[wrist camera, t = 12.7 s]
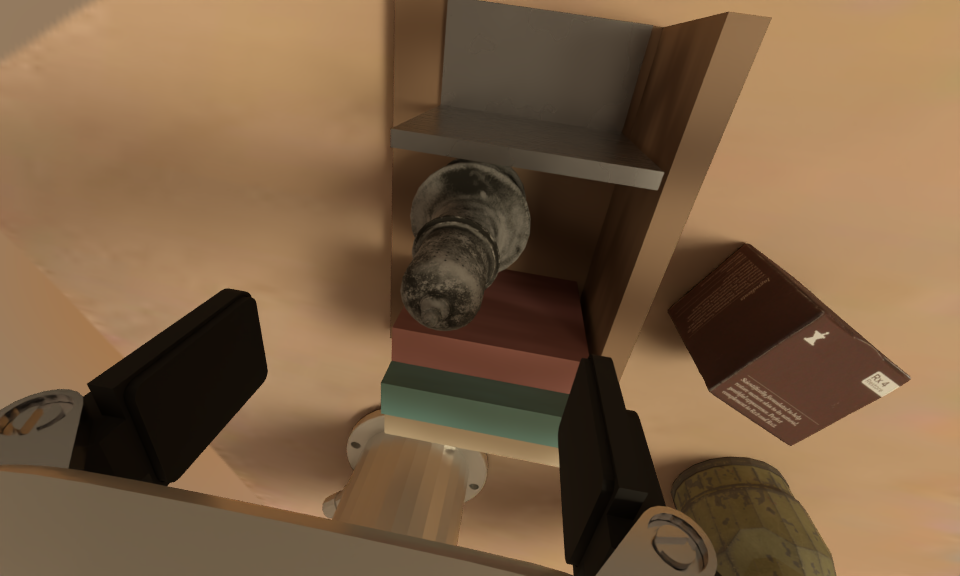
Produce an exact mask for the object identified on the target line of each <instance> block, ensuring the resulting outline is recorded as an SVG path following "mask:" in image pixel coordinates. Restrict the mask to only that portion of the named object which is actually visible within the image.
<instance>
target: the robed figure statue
mask: <svg viewBox="0 0 960 576" xmlns="http://www.w3.org/2000/svg"><path fill="white" fill-rule="evenodd" d="M671 494H672V498H673V501H674V504H675V508H676V510H678V511H680V512H682V513H684V514H685V515H687V516H688V517H690V518H691V519H692V520H693V521H695V522H696V523H697V524H698V525H699V526H700V527H701V528H702V529H703V531H704V532H705V533H706V535H707V536H708V538H709V539H710V541H711V543H712V545H713V547H714V549H715V552H716V557H717V569H716V571H718V572H719V573H720V574H721V575H722V576H836V572H835V567H834V563H833V559H832V555H831V553H830V551H829V549H828V547H827V546H826V544H825V542H824V541H823V539H822V537H821V536H820V534H819V532H818V530H817V529H816V527H815V525H814V524H813V522H812V520H811V518H810V517H809V515H808V513H807V512H806V510H805V509H804V508H803V506H802V505H801V504H800V502H799V501H797V500H796V499H795V498H794V496H793V494H792V493H791V491H790V489H789V485H788V484H787V482H786V480H785V479H784V477H783V476H782V475H781V473H780V472H779V471H778V470H777V469H775V468H774V467H772V466H770V465H769V464H767V463H765V462H762V461H758V460H754V459H750V458H739V457H726V458H719V459H711V460H708V461H705V462H702V463H699V464H696V465H694V466H692V467H690V468H689V469H687V470H686V471H684V472H683V473H681V474H680V475H679V477H678V478H677V479H676V480H675V482H674V483H673V487H672V491H671Z"/></svg>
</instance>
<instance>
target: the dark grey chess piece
mask: <svg viewBox="0 0 960 576" xmlns="http://www.w3.org/2000/svg"><path fill="white" fill-rule="evenodd" d="M410 218H411V227H412V232H413V235H414V237H415V239H414V241H413V247H412V258H413V260H412V261H411V263H410V264H409V266H408V268H407V269H406V271H405V273H404V275H403V277H402V283H401V290H400V292H401V299H402V302H403V304H404V306H405V308H406V310H407V311H408V312H409V314H410V315H411V316H412V317H413V318H414V319H415V320H416V321H417V322H419V323H420V324H422V325H424V326H425V327H427V328H430V329H434V330H438V331H451V330H457V329H459V328H462V327H464V326H466V325H467V324H468V323H470V322H471V321H472V320H473V319H474V317H475V316H476V314H477V313H478V311H479V310H480V307H481V304H482V300H483V295H484V291H485V290H486V289H487V288H488V287H489V286H490V285H491V284H492V283H493V281H494V280H495V278H496V277H497V274H498V272H501V271H503V270H505V269H506V268H508V267H509V266H510V265H511V264H512V263H514V262H515V261H516V260H517V259H518V257H519V256H520V255H521V253H522V252H523V250H524V249H525V247H526V244H527V241H528V238H529V235H530V221H531V217H530V213H529V209H528V204H527V201H526V194H525V190H524V186H523V183H522V181H521V180H520V178H519V176H518V174H517V173H516V172H515V171H514V170H513V169H512V167H510V166H503V165H497V164H491V163H485V162H479V161H473V160H466V159H460V158H456V159H455V160H453V161H452V162H450V163H448V164H447V166H444V167H442V168H440V169H439V170H437V171H436V172H434V173H432V174H431V175H429V177H428V178H427V179H426V180H425V181H424V182H423V183H422V184H421V185H420V187H419V188H418V190H417V193H416V195H415V197H414V199H413V201H412V208H411V214H410Z"/></svg>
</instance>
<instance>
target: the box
mask: <svg viewBox="0 0 960 576" xmlns="http://www.w3.org/2000/svg"><path fill="white" fill-rule="evenodd" d="M668 313H669V315H670V317H671V319H672V320H673V322H674V324H675V326H676V328H677V330H678V332H679V334H680V336H681V338H682V340H683V342H684V344H685V346H686V348H687V349H688V351H689V353H690V355H691V356H692V359H693V360H694V362H695V364H696V366H697V368H698V370H699V373H700V374H701V375H702V377H703V379H704V381H705V383H706V386H707V388H708V390H709V392H711V393H712V394H713V395H714V396H716V397H717V398H719V399H720V400H722V401H723V402H725V403H726V404H728V405H729V406H731V407H732V408H734V409H735V410H737V411H738V412H740V413H741V414H743V415H744V416H746V417H747V418H749V419H750V420H751V421H753V422H754V423H756V424H758V425H759V426H761V427H762V428H764V429H765V430H767V431H768V432H770V433H771V434H773V435H774V436H776V437H777V438H779V439H780V440H782V441H783V442H785V443H786V444H788V445H790V446H792V445H794V444H796V443H797V442H799V441H801V440H803V439H805V438H807V437H809V436H811V435H812V434H814V433H816V432H818V431H820V430H822V429H824V428H825V427H827V426H829V425H831V424H832V423H834V422H836V421H838V420H840V419H841V418H843V417H845V416H847V415H849V414H851V413H852V412H855V411H857V410H858V409H860V408H862V407H864V406H866V405H868V404H870V403H872V402H873V401H875V400H877V399H879V398H881V397H883V396H885V395H887V394H889V393H890V392H892V391H894V390H895V389H897V388H898V387H900V386H902V385H903V384H905V383H906V382H908V381H909V380H910V379H911V377H910V376H909V375H908V374H906V373H905V372H904V371H903V370H901V369H900V368H899V367H898V366H897V365H895V364H894V363H893V362H892V361H890V360H889V359H888V358H887V357H886V356H885V355H883V354H882V353H881V352H880V351H879V350H877V349H876V348H875V347H874V346H873V345H872V344H870V343H869V342H868V341H867V340H866V339H865V338H863V337H862V336H861V335H860V334H859V333H858V332H856V331H855V330H854V329H853V328H852V327H851V326H849V325H848V324H847V323H846V322H845V321H844V320H842V319H841V318H840V317H839V316H838V315H837V314H835V313H834V312H833V311H832V310H831V309H830V308H828V307H827V306H826V305H825V304H824V303H823V302H822V301H820V300H819V299H818V298H817V297H816V296H815V295H814V294H813V293H812V292H810V291H809V290H808V289H807V288H806V287H804V286H803V285H802V284H801V283H800V282H799V281H797V280H796V279H795V278H794V277H792V276H791V275H790V274H789V273H787V272H786V271H785V270H783V269H782V268H781V267H780V266H778V265H777V264H776V263H774V262H773V261H772V260H770V259H769V258H768V257H766V256H765V255H764V254H763V253H761V252H760V251H758V250H757V249H756V248H754V247H753V246H752V245H750V244H745V245H743V246H742V247H741V248H740V249H739V250H738V251H736V252H735V253H734V254H733V255H732V256H730V257H729V258H728V259H727V260H726V261H725V262H723V263H722V264H721V265H720V266H719V267H718V268H717V269H715V270H714V271H713V272H712V273H711V274H710V275H709V276H707V277H706V278H705V279H704V280H703V281H702V282H700V283H699V284H698V285H697V286H696V287H695V288H693V289H692V290H691V291H690V292H688V293H687V294H686V295H685V296H684V297H683V298H681V299H680V300H679V301H678V302H677V303H676V304H674V305H673V306H672V307H671V308H670V309H669V310H668Z"/></svg>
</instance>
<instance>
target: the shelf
mask: <svg viewBox="0 0 960 576" xmlns="http://www.w3.org/2000/svg"><path fill="white" fill-rule="evenodd" d="M447 5H448V0H395V22H394V98H393V127H395V126H397V125H399V124H401V123H403V122H405V121H407V120H410V119H412V118H414V117H416V116H418V115H420V114H422V113H424V112H426V111H428V110H431V109H433V108H435V107H437V106H439V105H441V91H442V77H443V63H444V48H445V34H446V19H447ZM771 19H772V18H771V17H764V16H756V15H749V14H742V13H735V12H725V13H721V14H717V15H713V16H709V17H705V18H701V19H696V20H692V21H688V22H684V23H680V24H676V25H672V26H667V27H656V26H653V28H652V32H651V35H650V39H649V42H648V45H647V49H646V52H645V56H644V59H643V62H642V66H641V69H640V73H639V76H638V79H637V83H636V86H635V90H634V93H633V96H632V100H631V103H630V107H629V110H628V113H627V117H626V120H625V124H624V127H623V130H622V134H623V135H625V136H626V137H627V138H628V139H629V140H630V141H631V142H632V143H633V144H634V145H635V146H637V147H638V148H639V149H640V150H641V151H642V152H643V153H644V154H645V155H646V156H647V157H648V158H650V159H651V160H652V161H653V162H654V163H655V164H656V165H657V166H658V167H659V168H660V169H661V170H663V171H664V175H663V177H662V180H661V183H660V186H659V188H658V190H652V189H646V188H639V187H633V186H627V185H621V184H615V183H608V182H602V181H596V180H590V179H584V178H578V177H571V176H565V175H559V174H553V173H547V172H541V171H534V170H528V169H522V168H516V167H512V169H513V170H514V171H515V172H516V173H517V174H518V176H519V178H520V180H521V181H522V183H523V186H524V190H525V194H526V201H527V204H528V209H529V213H530V217H531V221H530V235H529V238H528V241H527V244H526V247H525V249H524V250H523V252H522V253H521V255H520V256H519V257H518V259H517V260H516V261H515V262H514V263H512V264H511V265H510V266H509V267H508V268H506V269H505V270H503V271H501V272H498V274H497V277H496V278H495V280H494V281H493V283H492V284H491V285H490V286H489V287H488V288H487V289H486V290H485V291H484V295H483V300H482V304H481V307H480V310H479V311H478V313H477V314H476V316H475V317H474V319H473V320H472V321H471V322H470V323H468V324H467V325H466V326H464V327H462V328H459V329H457V330H451V331H438V330H434V329H430V328H427V327H425V326H424V325H422V324H420V323H419V322H417V321H416V320H415V319H414V318H413V317H412V316H411V315H410V314H409V312H408V311H407V310H406V308H405V306H404V304H403V302H402V299H401V292H400V290H401V283H402V277H403V275H404V273H405V271H406V269H407V268H408V266H409V264H410V263H411V261H412V260H413V258H412V247H413V241H414V239H415V237H414V235H413V232H412V227H411V218H410V214H411V208H412V201H413V199H414V197H415V195H416V193H417V190H418V188H419V187H420V185H421V184H422V183H423V182H424V181H425V180H426V179H427V178H428V177H429V175H431V174H432V173H434V172H436V171H437V170H439V169H440V168H442V167H444V166H447V164H448V163H450V162H452V161H453V160H455V159H456V158H454V157H448V156H442V155H436V154H429V153H423V152H417V151H411V150H405V149H398V148H393V175H392V251H391V328H390V338H392V361H391V363H390V365H389V367H388V369H387V371H386V374H385V376H384V378H383V380H382V382H381V414H385V429H384V433H386V434H392V435H397V436H402V437H407V438H412V439H417V440H422V441H427V442H432V443H437V444H442V445H447V446H453V447H458V448H463V449H468V450H473V451H478V452H483V453H488V454H493V455H498V456H503V457H508V458H514V459H519V460H524V461H529V462H534V463H539V464H544V465H549V466H554V467H559V451H558V429H559V425H560V422H561V418H562V415H563V412H564V409H565V406H566V403H567V400H568V397H569V394H570V391H571V388H572V385H573V382H574V379H575V376H576V372H577V369H578V366H579V363H580V361H581V359H582V358H587V359H588V356H589V355H590V354H594V355H600V356H605V357H611V358H612V360H613V363H614V367H615V371H616V374H617V378H618V382H619V381H620V379H621V376H622V374H623V371H624V369H625V367H626V364H627V362H628V359H629V357H630V355H631V352H632V350H633V348H634V345H635V343H636V340H637V338H638V336H639V333H640V331H641V328H642V326H643V324H644V321H645V319H646V317H647V314H648V312H649V309H650V307H651V305H652V302H653V300H654V297H655V295H656V293H657V290H658V288H659V286H660V283H661V281H662V278H663V276H664V274H665V271H666V269H667V267H668V264H669V262H670V259H671V257H672V255H673V252H674V250H675V247H676V245H677V243H678V240H679V238H680V236H681V233H682V231H683V228H684V226H685V224H686V221H687V219H688V216H689V214H690V212H691V209H692V207H693V205H694V202H695V200H696V197H697V195H698V193H699V190H700V188H701V185H702V183H703V181H704V178H705V176H706V174H707V171H708V169H709V166H710V164H711V162H712V159H713V157H714V154H715V152H716V150H717V147H718V145H719V143H720V140H721V138H722V135H723V133H724V131H725V128H726V126H727V123H728V121H729V119H730V116H731V114H732V112H733V109H734V107H735V104H736V102H737V100H738V97H739V95H740V93H741V90H742V88H743V85H744V83H745V81H746V78H747V76H748V73H749V71H750V69H751V66H752V64H753V62H754V59H755V57H756V54H757V52H758V50H759V47H760V45H761V42H762V40H763V38H764V35H765V33H766V31H767V28H768V26H769V23H770V21H771ZM559 468H560V467H559Z"/></svg>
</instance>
